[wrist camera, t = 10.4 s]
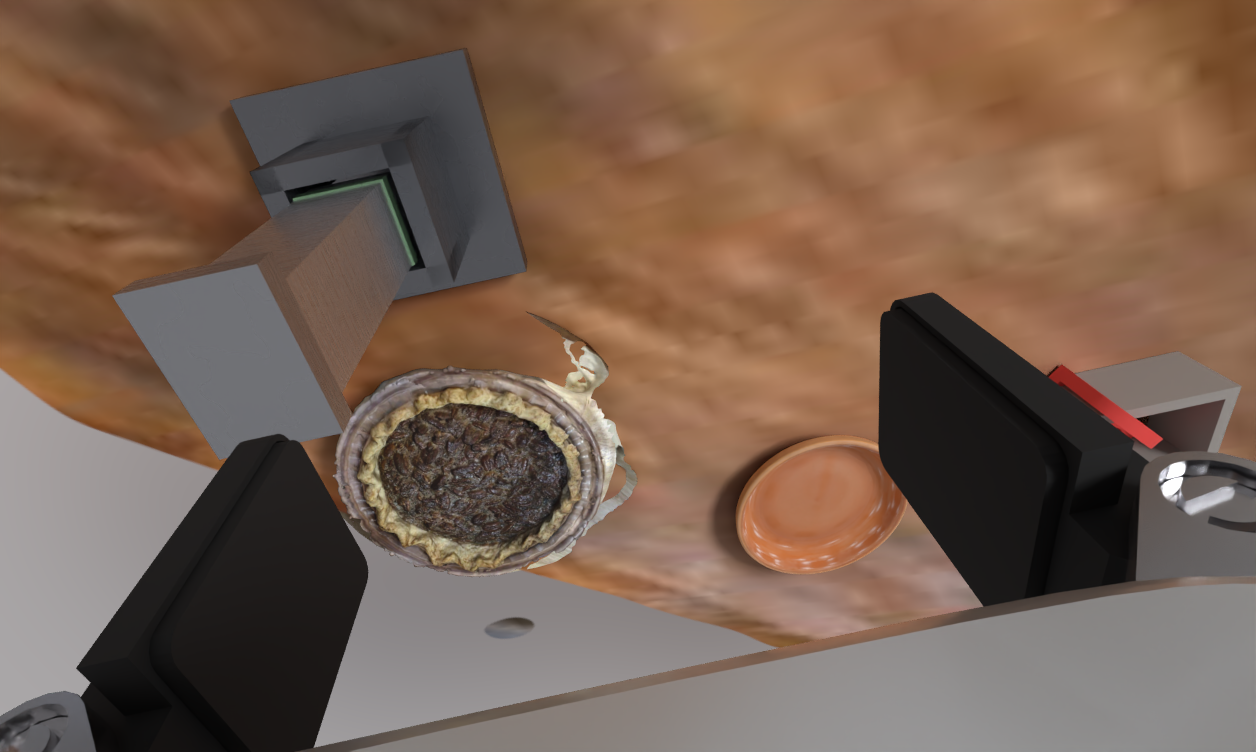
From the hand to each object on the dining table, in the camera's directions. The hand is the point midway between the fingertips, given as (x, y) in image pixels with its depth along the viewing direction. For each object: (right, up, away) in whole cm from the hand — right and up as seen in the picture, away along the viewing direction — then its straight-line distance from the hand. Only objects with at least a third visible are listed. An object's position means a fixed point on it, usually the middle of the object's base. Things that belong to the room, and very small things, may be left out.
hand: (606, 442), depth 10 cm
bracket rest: (+42, -2, +48) cm, 64 cm away
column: (-14, +10, +26) cm, 31 cm away
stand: (-15, +14, +32) cm, 38 cm away
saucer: (+18, -10, +50) cm, 54 cm away
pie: (-13, -5, +44) cm, 46 cm away
